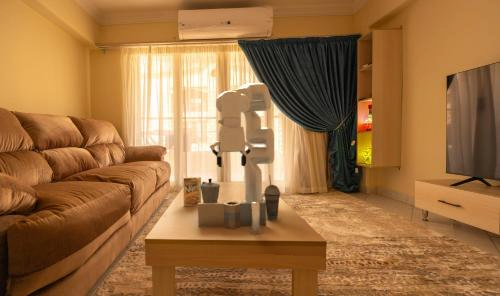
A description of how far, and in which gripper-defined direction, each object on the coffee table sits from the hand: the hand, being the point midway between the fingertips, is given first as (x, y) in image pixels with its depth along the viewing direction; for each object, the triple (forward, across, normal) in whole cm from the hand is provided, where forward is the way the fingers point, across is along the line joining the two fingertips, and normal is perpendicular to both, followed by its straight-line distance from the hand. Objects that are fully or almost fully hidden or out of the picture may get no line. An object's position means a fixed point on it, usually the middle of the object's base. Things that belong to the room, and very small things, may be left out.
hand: (231, 166), depth 107 cm
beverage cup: (+25, +21, +7) cm, 34 cm away
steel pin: (+26, +8, -7) cm, 27 cm away
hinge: (+25, +1, +4) cm, 26 cm away
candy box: (+25, -10, +46) cm, 53 cm away
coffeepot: (+26, -5, +22) cm, 34 cm away
